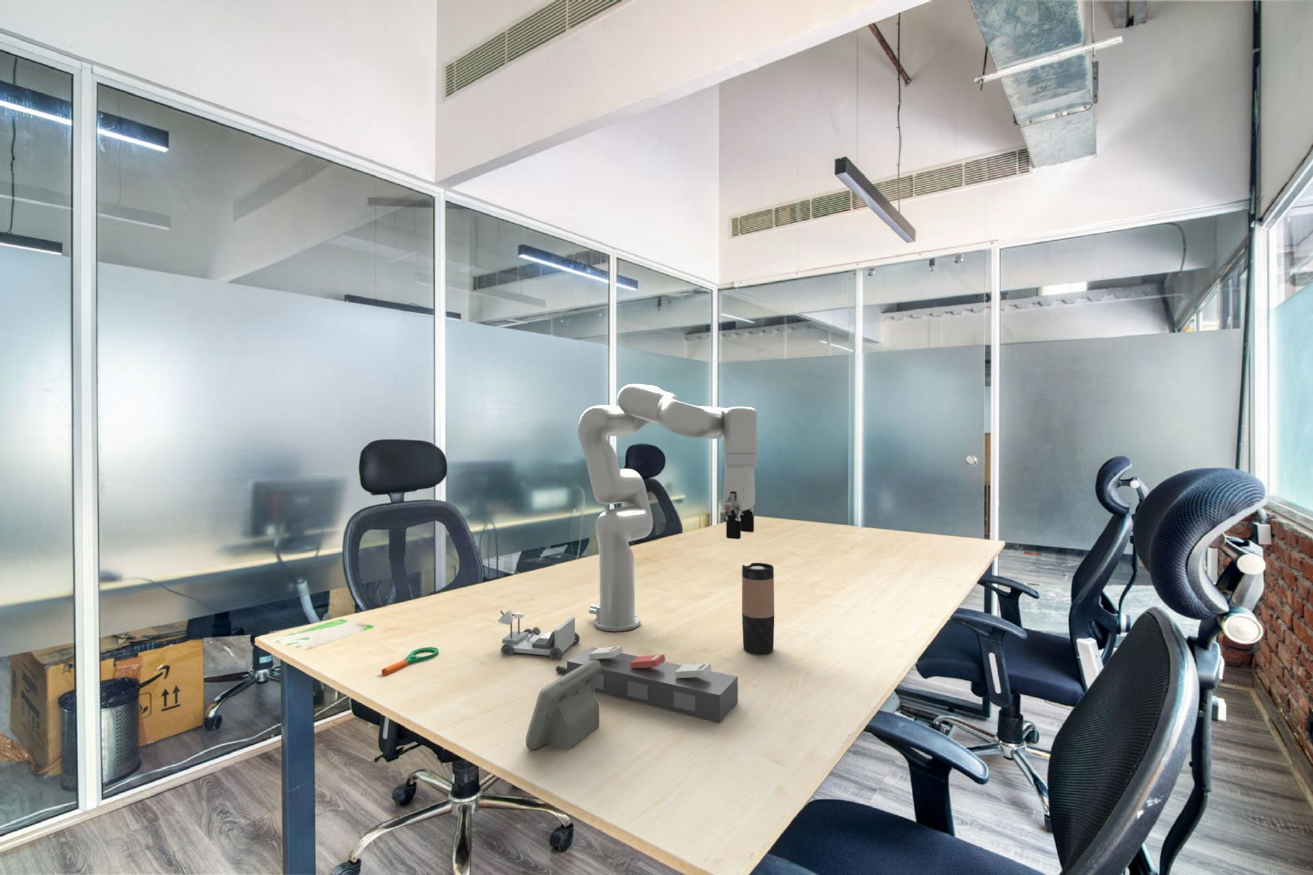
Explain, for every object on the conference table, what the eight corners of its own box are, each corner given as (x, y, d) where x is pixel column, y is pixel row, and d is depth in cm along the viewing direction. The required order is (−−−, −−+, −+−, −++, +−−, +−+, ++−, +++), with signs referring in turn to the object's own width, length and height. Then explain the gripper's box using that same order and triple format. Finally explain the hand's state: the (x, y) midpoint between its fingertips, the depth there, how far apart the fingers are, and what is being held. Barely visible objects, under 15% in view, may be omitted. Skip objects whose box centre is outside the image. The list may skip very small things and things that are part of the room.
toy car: (490, 614, 138) (514, 600, 149) (490, 655, 138) (514, 638, 149) (561, 619, 133) (579, 605, 145) (561, 662, 133) (580, 644, 145)
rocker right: (676, 678, 111) (674, 671, 111) (684, 671, 114) (682, 664, 114) (704, 676, 108) (702, 669, 108) (711, 669, 111) (710, 662, 111)
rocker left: (590, 659, 120) (588, 653, 121) (599, 653, 124) (598, 647, 124) (613, 657, 118) (612, 651, 118) (622, 651, 121) (621, 645, 121)
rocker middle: (631, 668, 116) (629, 661, 116) (640, 662, 119) (639, 655, 119) (656, 666, 113) (655, 659, 113) (665, 660, 116) (664, 653, 116)
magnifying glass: (424, 650, 141) (424, 643, 141) (444, 653, 139) (444, 646, 139) (373, 674, 127) (373, 667, 127) (395, 678, 125) (395, 670, 125)
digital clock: (584, 708, 110) (583, 652, 110) (618, 723, 104) (617, 664, 104) (512, 743, 97) (511, 680, 97) (546, 763, 91) (546, 695, 91)
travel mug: (774, 656, 135) (774, 570, 135) (741, 654, 136) (740, 569, 136) (774, 644, 142) (774, 563, 142) (743, 642, 144) (742, 562, 144)
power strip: (543, 679, 123) (543, 656, 123) (570, 664, 131) (569, 642, 131) (719, 723, 103) (719, 695, 103) (737, 702, 112) (737, 676, 112)
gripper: (737, 458, 143) (737, 528, 143) (711, 462, 127) (711, 539, 127) (766, 459, 139) (766, 530, 140) (744, 462, 124) (744, 542, 124)
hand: (740, 534), depth 134 cm, fingers open, 9 cm apart
